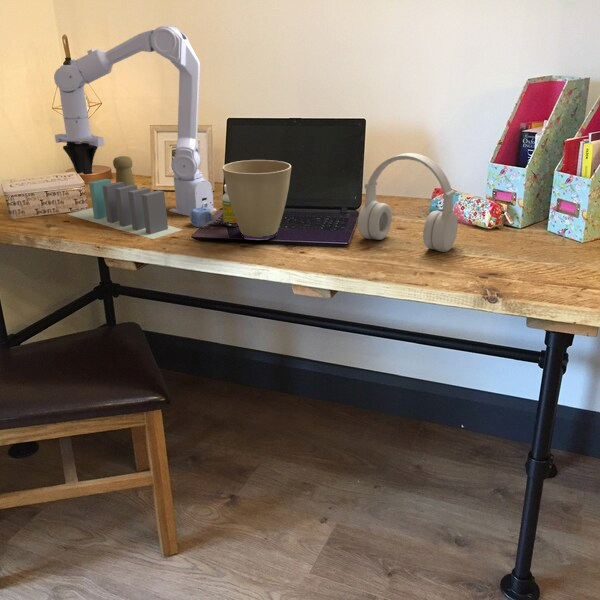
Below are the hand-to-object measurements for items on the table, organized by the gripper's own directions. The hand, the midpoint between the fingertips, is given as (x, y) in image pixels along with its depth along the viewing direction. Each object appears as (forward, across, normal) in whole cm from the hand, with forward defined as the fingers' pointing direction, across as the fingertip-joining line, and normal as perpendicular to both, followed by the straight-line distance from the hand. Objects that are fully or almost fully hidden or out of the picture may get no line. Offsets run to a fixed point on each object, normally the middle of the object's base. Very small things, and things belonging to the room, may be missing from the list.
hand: (84, 173), depth 166 cm
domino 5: (+10, -26, +5) cm, 29 cm away
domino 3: (+10, -17, +3) cm, 20 cm away
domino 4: (+10, -22, +4) cm, 24 cm away
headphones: (+11, -81, -12) cm, 83 cm away
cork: (+11, +4, -18) cm, 21 cm away
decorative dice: (+11, -33, -4) cm, 35 cm away
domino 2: (+10, -12, +2) cm, 16 cm away
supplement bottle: (+11, -40, -8) cm, 42 cm away
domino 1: (+10, -6, +1) cm, 12 cm away
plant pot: (+11, -50, -2) cm, 51 cm away
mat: (+10, -14, +3) cm, 17 cm away
